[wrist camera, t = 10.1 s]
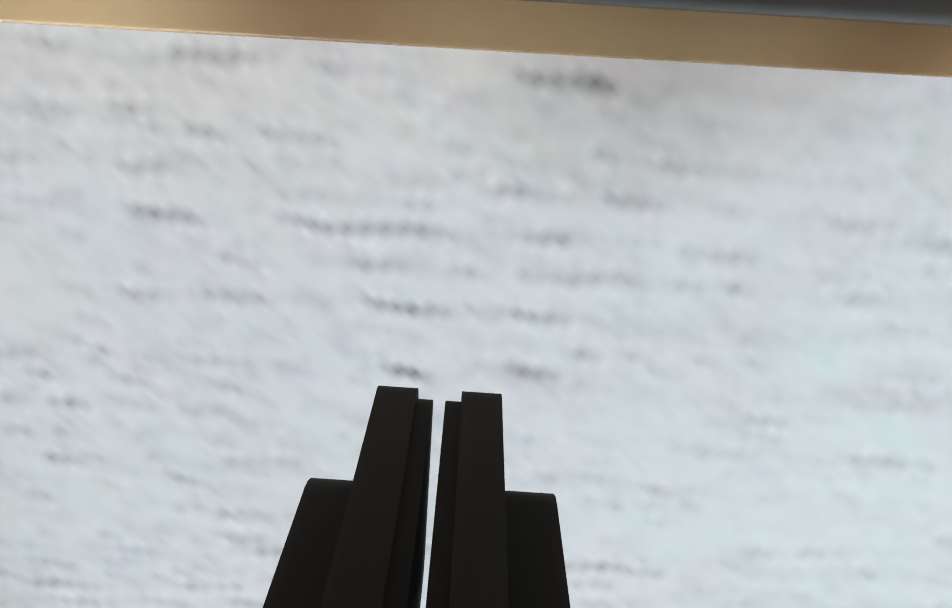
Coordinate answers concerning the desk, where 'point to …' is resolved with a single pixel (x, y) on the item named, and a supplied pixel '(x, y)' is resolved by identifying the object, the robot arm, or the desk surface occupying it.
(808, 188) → the desk surface
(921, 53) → the brown wooden tray
